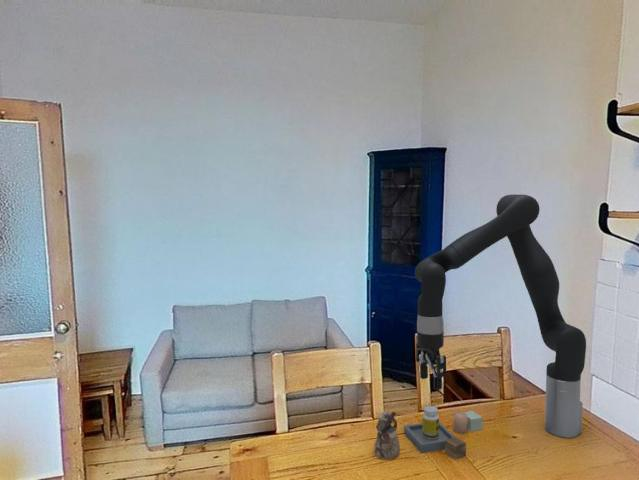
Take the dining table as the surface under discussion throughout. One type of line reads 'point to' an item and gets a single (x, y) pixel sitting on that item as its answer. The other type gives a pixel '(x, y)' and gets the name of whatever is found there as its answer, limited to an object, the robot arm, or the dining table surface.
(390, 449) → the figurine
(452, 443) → the walnut block
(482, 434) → the dining table surface
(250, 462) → the dining table surface
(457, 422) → the pink rounded capsule
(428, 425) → the supplement bottle
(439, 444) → the tray
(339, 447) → the dining table surface
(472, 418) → the sage block
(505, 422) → the dining table surface
